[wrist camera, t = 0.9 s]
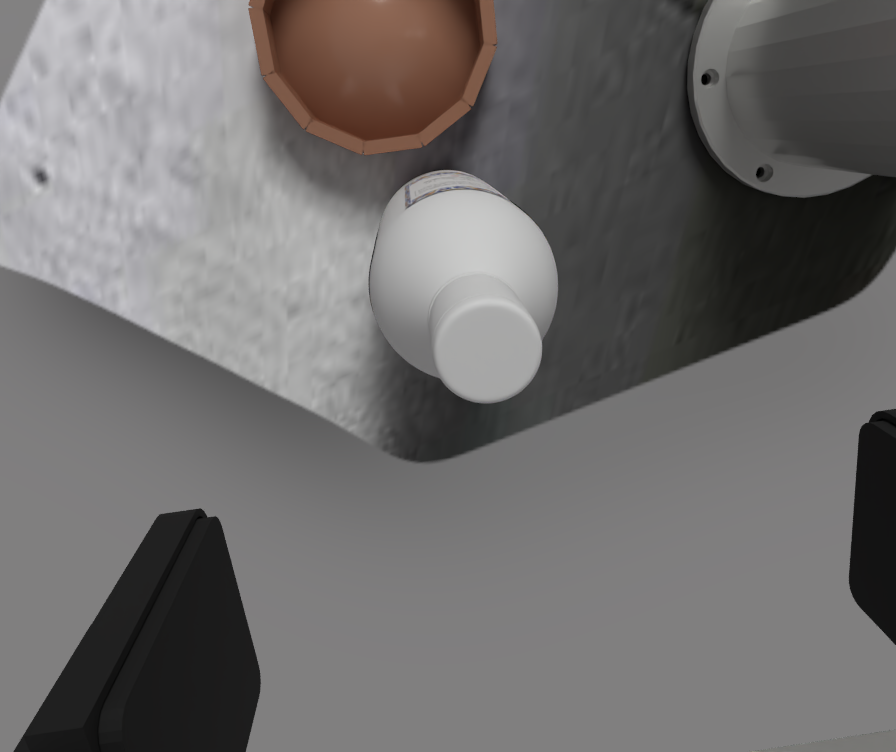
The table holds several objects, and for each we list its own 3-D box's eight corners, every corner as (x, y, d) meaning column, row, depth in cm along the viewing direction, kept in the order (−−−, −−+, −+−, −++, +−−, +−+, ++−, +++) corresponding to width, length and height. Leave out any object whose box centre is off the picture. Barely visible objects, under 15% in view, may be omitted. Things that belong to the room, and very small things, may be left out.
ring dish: (475, -112, 33) (480, -130, 30) (499, 135, 36) (506, 136, 34) (240, -81, 33) (227, -98, 30) (288, 163, 36) (279, 166, 34)
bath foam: (457, 328, 40) (507, 517, 21) (352, 250, 38) (302, 380, 19) (538, 225, 38) (673, 328, 19) (432, 139, 36) (466, 160, 17)
